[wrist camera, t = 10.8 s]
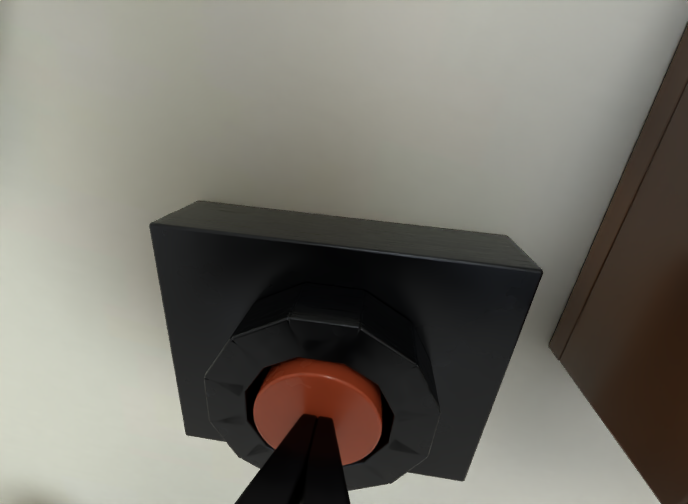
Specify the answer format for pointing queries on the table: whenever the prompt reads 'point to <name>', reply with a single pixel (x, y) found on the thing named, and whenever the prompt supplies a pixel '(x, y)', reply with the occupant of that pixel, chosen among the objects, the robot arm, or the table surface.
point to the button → (320, 404)
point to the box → (641, 300)
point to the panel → (342, 324)
